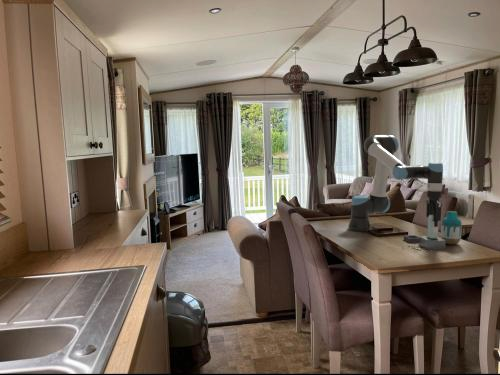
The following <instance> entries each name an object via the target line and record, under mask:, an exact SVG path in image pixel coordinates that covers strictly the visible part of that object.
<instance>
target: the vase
mask: <svg viewBox="0 0 500 375" xmlns="http://www.w3.org/2000/svg"><path fill="white" fill-rule="evenodd" d="M462 228H463V226H462V220H461V219H460V218H459V217H458V211H455V210H454V211H453V210H448V211H446V216H445V217H444V218H442V219H441V225H440V238H442V239H444V240H446V243H445V245H446V244H447V245H457V244H459V243H460V242H461V238H462V230H463V229H462Z"/></svg>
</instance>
